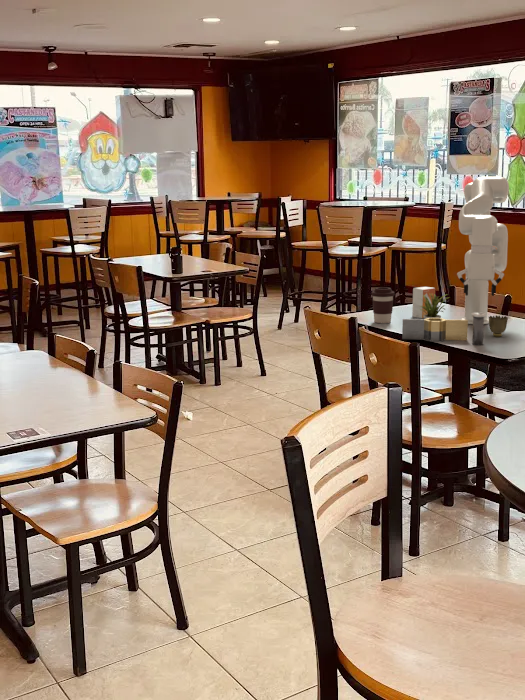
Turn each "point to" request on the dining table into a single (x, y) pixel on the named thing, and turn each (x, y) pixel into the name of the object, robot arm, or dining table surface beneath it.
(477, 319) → the hinge pin
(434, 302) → the house plant
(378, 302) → the coffee cup
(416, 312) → the small box
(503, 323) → the cup
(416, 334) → the hinge
